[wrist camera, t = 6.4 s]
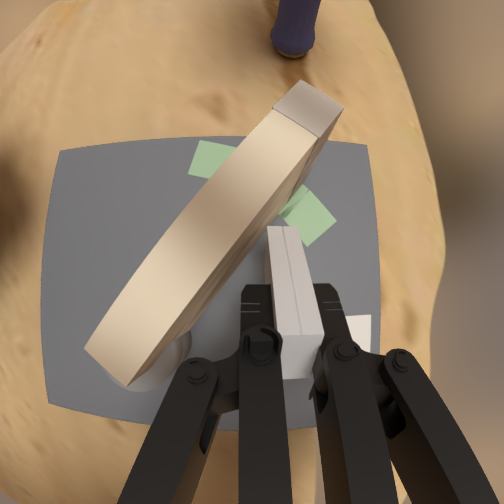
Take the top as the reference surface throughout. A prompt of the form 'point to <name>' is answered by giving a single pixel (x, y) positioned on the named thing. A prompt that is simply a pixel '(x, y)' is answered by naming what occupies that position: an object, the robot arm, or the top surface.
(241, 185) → the wooden block
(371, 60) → the top surface
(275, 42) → the rubber mallet
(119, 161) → the board
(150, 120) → the top surface
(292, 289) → the robot arm
